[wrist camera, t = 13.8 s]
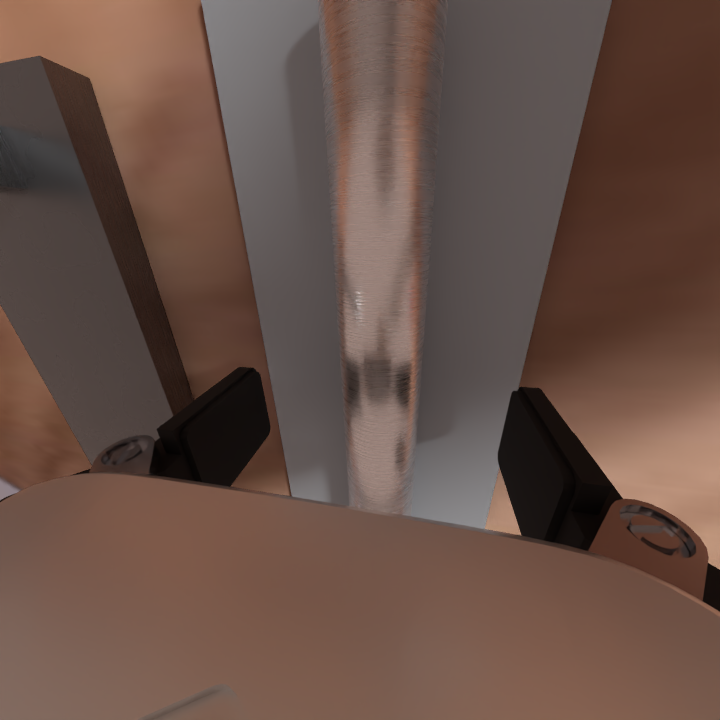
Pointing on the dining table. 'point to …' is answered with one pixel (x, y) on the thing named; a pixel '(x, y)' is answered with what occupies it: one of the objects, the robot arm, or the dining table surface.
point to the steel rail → (381, 225)
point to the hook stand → (79, 263)
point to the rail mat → (448, 236)
